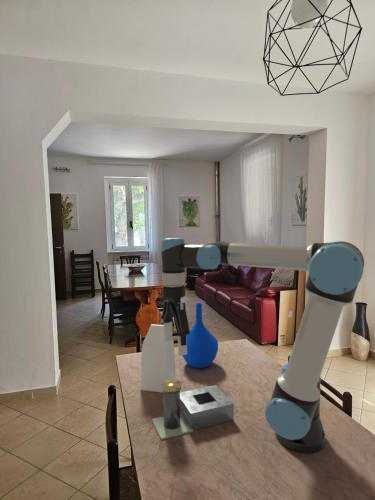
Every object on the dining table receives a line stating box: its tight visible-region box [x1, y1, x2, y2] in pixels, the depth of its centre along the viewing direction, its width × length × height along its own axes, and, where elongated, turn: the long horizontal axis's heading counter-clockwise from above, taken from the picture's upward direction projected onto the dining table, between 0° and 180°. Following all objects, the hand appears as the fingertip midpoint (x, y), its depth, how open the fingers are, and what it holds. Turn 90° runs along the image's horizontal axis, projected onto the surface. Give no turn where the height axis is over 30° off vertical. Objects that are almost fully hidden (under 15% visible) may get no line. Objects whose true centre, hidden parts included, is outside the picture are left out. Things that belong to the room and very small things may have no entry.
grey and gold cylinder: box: [162, 379, 182, 429], centre depth 111 cm, size 7×7×14 cm
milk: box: [140, 323, 177, 393], centre depth 139 cm, size 12×12×26 cm
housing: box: [180, 384, 235, 431], centre depth 118 cm, size 14×16×6 cm
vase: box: [182, 302, 219, 369], centre depth 159 cm, size 18×18×30 cm
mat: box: [151, 413, 194, 441], centre depth 112 cm, size 11×11×1 cm
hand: (175, 347), depth 111 cm, fingers open, 13 cm apart
